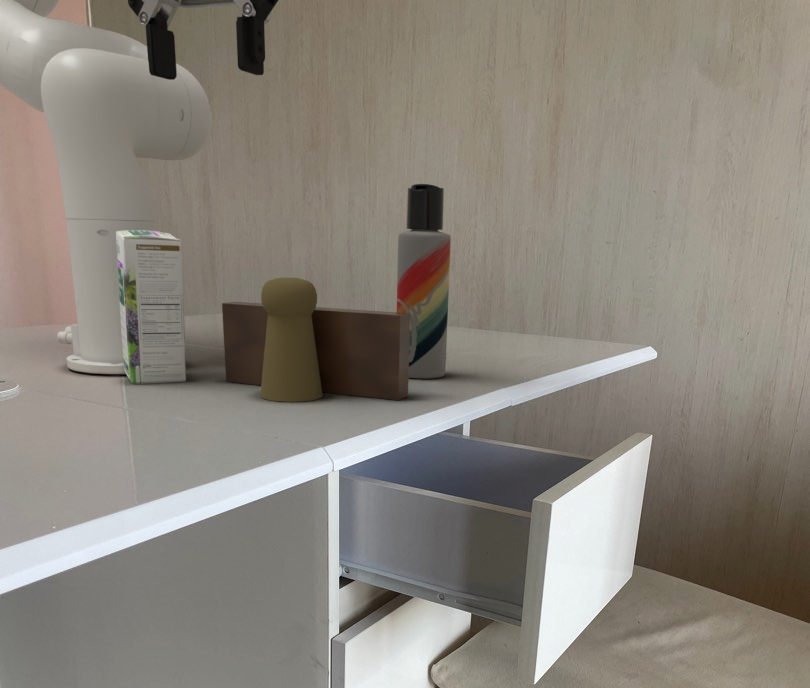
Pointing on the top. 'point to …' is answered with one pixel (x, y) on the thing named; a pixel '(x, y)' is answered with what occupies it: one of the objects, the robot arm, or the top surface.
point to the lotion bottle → (425, 280)
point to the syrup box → (151, 306)
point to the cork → (290, 342)
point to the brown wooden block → (328, 349)
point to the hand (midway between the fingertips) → (206, 75)
